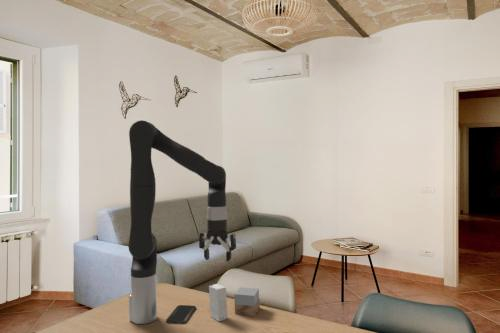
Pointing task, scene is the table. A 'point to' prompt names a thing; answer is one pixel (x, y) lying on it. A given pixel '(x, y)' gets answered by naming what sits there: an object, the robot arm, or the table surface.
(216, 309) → the skincare box
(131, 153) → the robot arm
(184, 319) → the phone
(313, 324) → the table surface
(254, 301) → the tower top
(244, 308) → the tower bottom
